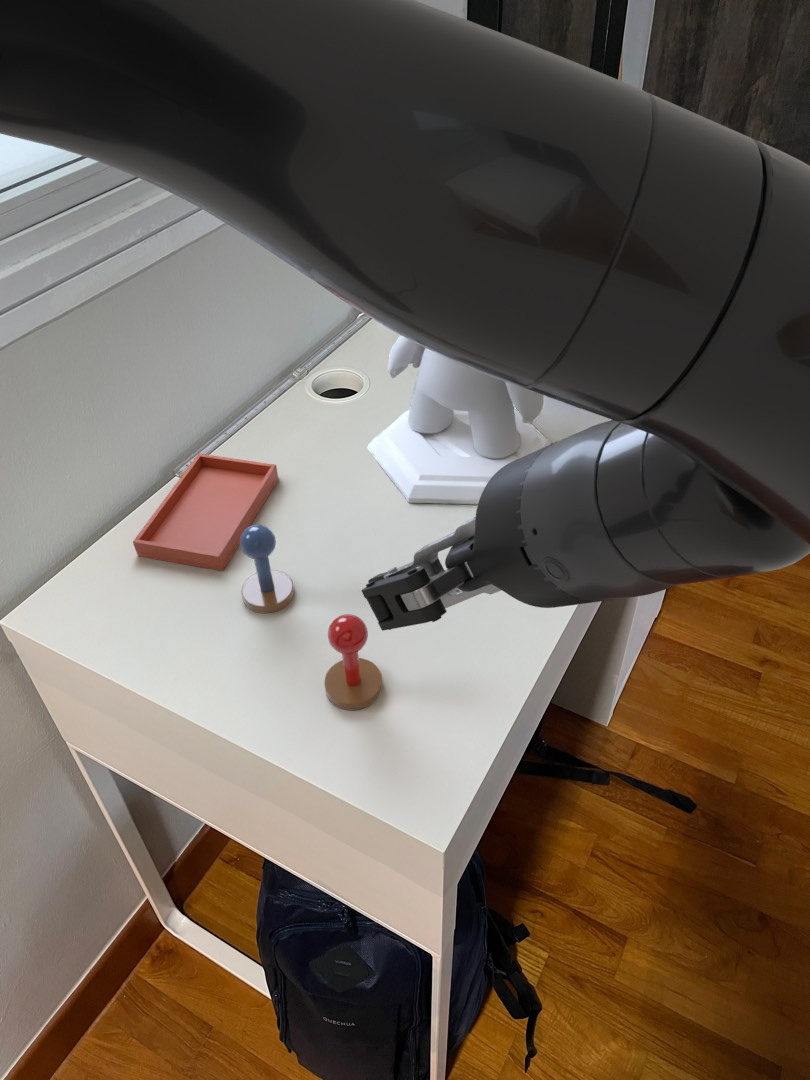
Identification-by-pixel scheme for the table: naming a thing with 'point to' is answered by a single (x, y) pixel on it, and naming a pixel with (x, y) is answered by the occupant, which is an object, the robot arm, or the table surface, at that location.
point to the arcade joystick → (351, 666)
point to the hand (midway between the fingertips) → (433, 562)
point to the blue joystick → (264, 573)
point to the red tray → (207, 512)
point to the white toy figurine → (454, 429)
